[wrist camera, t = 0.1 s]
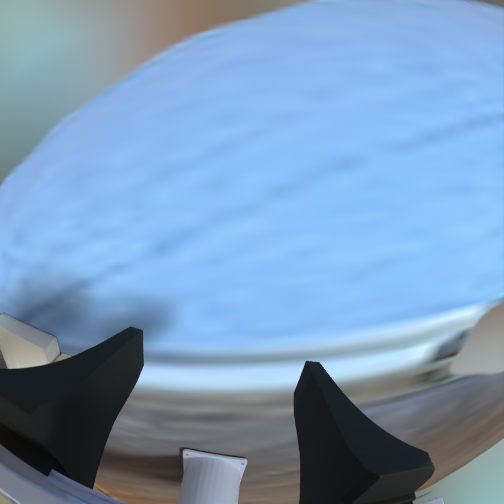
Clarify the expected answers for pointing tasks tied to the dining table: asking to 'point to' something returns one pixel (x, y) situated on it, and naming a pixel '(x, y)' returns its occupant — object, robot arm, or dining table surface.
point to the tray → (25, 344)
